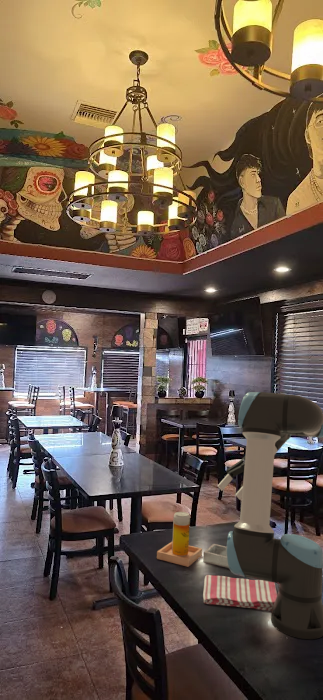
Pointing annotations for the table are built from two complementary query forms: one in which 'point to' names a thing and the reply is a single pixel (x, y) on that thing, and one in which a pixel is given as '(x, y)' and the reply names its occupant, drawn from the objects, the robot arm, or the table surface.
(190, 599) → the table surface
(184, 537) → the beer can
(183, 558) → the serving tray
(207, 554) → the frame
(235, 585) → the dish towel
